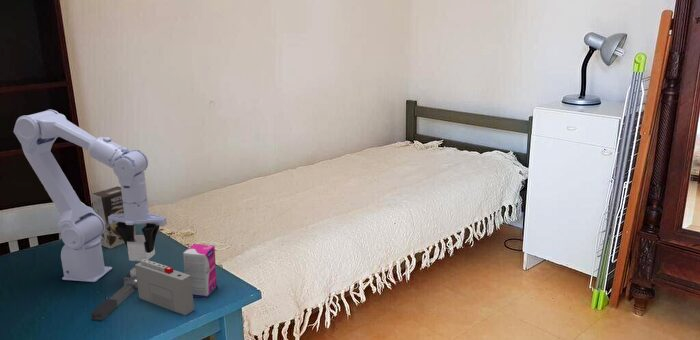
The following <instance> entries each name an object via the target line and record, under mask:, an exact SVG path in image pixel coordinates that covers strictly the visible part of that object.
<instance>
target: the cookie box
mask: <svg viewBox="0 0 700 340" xmlns="http://www.w3.org/2000/svg"><path fill="white" fill-rule="evenodd" d="M91 201H92V208H93V210H94V211H95V213H96V214H97V215H99V216H100V217H101V218H102V219H103V221H104V223H105V231H104V232H103V233H102V234H101V235H102V239H101V246H103V247H105V248H107V249H113V248H115V247H116V248H117V247H118V246H121V245H123V244H124V245H125V242H124V241H123V239H122V237H121V236H120V235H119V233H118V232H117V231H116V230H115V227H117V225H118V223H113V224H109V221H108V216H110V215H111V214H124V208H123V200H122V192H121V186H115V187H111V188H107V189H105V190H104V189H103V190H100V191H96V192H93V193H91ZM135 226H136V224H134V236H135V235H137V234H136V232H137V231H136V227H135Z"/></svg>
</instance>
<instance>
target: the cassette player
mask: <svg viewBox="0 0 700 340" xmlns="http://www.w3.org/2000/svg"><path fill="white" fill-rule="evenodd" d="M134 268H135V269H136V277H137V284H138V290H137V292H138V298H139V299H140V300H144V301H146V302H148V303H151V304H154V305H157V306H159V307H162V308H164V309H167V310H169V311H173V312H176V313H177V314H181V315H182V316H188V314H190V313H192V312H193V311H195V305H194V296H193V293H192V283H191V275H188V274H185V272H182V271H178V270H175V269H174V268H173V267H170V266H168V265H165V264H161V263H159V262H155V261H151V260H150V259H149V260H146V259H143V260H141V261H139V262H138V263H136V264H134Z"/></svg>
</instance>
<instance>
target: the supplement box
mask: <svg viewBox="0 0 700 340" xmlns="http://www.w3.org/2000/svg"><path fill="white" fill-rule="evenodd" d="M182 256H183V268H184V273H185V274H188V275H191V283H192V293H193V297H198V298H205V299H207V298H208V297H209V296H210V295H211V293H212V292H213V291H215V289H217V287H218V285H217V282H218V281H217V268H216V267H217V265H216V247H215V246H214V245H210V244H209V245H208V244H197V243H193V244H192V245H191V246H190V247H189V248H187V249H186V250H185V251H183V253H182Z"/></svg>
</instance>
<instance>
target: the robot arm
mask: <svg viewBox="0 0 700 340" xmlns="http://www.w3.org/2000/svg"><path fill="white" fill-rule="evenodd" d="M13 134H14V135H15V137H16V138H17V140H18V141H19V143H20V145H21V149H22V151H23V154H24V156H25V158H26V159H27V161H28V163H29V164H30V166H31V168H32V170H33V171H34V173H35V174H36V176H37V178H38V179H39V181H40V182H41V184H42V185H43V187H44V190H45V191H46V192H47V194H48V196H49V198H50V199H51V200H52V203H53V204H54V205H55V208H57V209H56V210H57V211H58V212H59V214H60V218H59V221H58V223H57V228H58V230H59V232H60V235H61V236H60V237H61V240H62V242H63V243H64V245H63V246H62V248H61V252H60V259H61V267H62V271H63V277H62V278H61V279H62V280H64V281H75V282H77V281H78V282H87V283H88V282H89V283H95V282H97V281H99V280H100V279H101V278H102V277H104V276H105V275H106V274H107V273H108V272H110V271H111V270H113V266H105V261H104V252H103V248H102V245H101V239H102V235H101V234H102V233H103V232H104V231H105V223H104V221H103V219H102V218H101V217H100V216H99V215H97V214H96V213H95V211H94V209H93V207H92V206H88V205H85V204H83V203H82V202H81V199H80V198H79V196H78V195H77V193H76V191H75V190H74V189H73V186H72V185H71V183H70V181H69V180H68V178H67V176H66V175H65V173H64V172H63V170H62V168H61V166H60V165H59V163H58V161H57V160H56V158H55V156H54V154H53V153H52V152H51V151H52V150H51V149H52V147H53V144H54V143H55V141H56V140H57V139H58V138H61V139H63V140H65V141H68V142H70V143H73V144H75V145H77V146H78V147H81V148H83V149H86V150H87V151H88V153H89V156H90V157H91V158H93V159H94V160H96V161H98V162H100V163H101V164H104V165H106V166H108V167H109V168H111V169H112V170H113V173H114V174H115V176H116V177H117V178H118V179H117V180H118V183H119V184H120V187H121V192H122V200H123V208H124V214H111V215H110V216H108V221H109V224H113V223H118V225H117V227H115V230H116V231H117V232H118V233H119V235H120V236H121V237H122V239H123V241H124V242H125V243H124V245H125V246H126V249H127V250H128V247H127V241H129V240H130V239H131V238H133V237H134V224H135V225H145V226H143V228H141V232H142V233H143V234H142V235H144V237H145V241H146V248H147V252H148V253H150V252H152V251H153V250H154V248H155V243H156V239H157V238H156V237H157V234H158V232H159V230H160V227H164V226H166V225H167V222H168V221H167V220H168V219H167V217H166V216H162V215H157V214H153V213H150V211H149V203H148V194H147V184H146V176H145V171H146V170H147V168H148V165H149V160H148V158H147V156H146V155H145V154H144V152H142V151H141V150H139V149H132V150H131V149H129V148H128V147H126V146H122V145H120V144H118V143H116V142H114V141H112V138H111V137H109V136H106V137H105V136H98V137H96V136H93V135H92V134H90V133H89V132H87V131H86V130H84V129H83V128H81V127H79V126H78V125H76V124H75V123H73V122H71V121H70V120H68V119H67V117H66V115H64V114H62V113H59V112H58V111H57V110H54V109H47V110H44V111H40V112H37V113H36V112H35V113H33V114H28V115H21V116H19V117H18V118H17V119H16V121H15V124H14V128H13ZM78 219H79V220H78ZM76 220H77V221H76Z"/></svg>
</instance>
